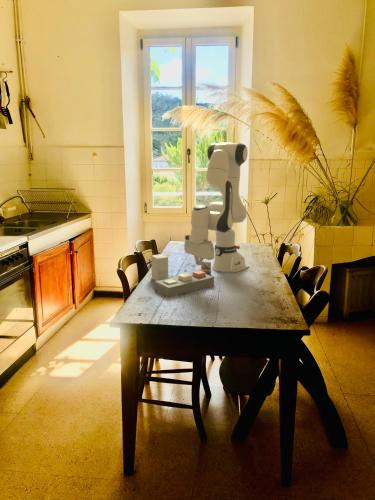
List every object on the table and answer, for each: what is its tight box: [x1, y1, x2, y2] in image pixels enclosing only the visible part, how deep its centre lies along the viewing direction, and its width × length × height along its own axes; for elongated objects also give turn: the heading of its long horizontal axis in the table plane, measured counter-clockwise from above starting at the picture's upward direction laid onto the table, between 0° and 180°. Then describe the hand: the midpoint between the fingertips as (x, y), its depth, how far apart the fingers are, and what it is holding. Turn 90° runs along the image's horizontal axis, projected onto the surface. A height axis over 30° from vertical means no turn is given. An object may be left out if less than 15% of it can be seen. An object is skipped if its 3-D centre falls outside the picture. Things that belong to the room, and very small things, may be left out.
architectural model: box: [197, 261, 212, 276], centre depth 218 cm, size 3×7×7 cm, turn 77°
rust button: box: [192, 270, 206, 278], centre depth 201 cm, size 5×5×4 cm
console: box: [154, 272, 215, 298], centre depth 197 cm, size 28×12×4 cm, turn 127°
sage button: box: [163, 279, 177, 285], centre depth 191 cm, size 5×5×4 cm
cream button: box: [178, 273, 192, 282], centre depth 196 cm, size 5×5×4 cm
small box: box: [151, 253, 169, 282], centre depth 208 cm, size 8×6×13 cm
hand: (198, 264), depth 200 cm, fingers closed
